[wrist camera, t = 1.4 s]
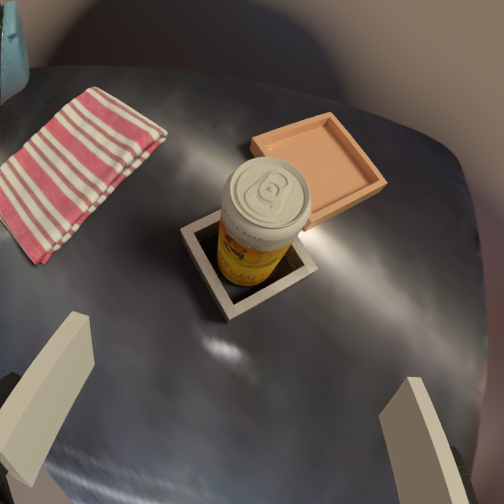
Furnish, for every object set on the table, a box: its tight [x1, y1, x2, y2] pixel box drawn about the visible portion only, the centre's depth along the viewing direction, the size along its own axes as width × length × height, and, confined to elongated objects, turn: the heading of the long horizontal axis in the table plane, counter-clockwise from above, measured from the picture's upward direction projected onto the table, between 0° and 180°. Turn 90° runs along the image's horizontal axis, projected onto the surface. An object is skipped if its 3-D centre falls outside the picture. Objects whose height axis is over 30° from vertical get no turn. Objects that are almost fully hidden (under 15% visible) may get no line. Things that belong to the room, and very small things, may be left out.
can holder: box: [180, 210, 318, 324], centre depth 33 cm, size 10×10×4 cm
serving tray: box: [250, 112, 387, 231], centre depth 38 cm, size 13×13×2 cm
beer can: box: [217, 157, 311, 286], centre depth 27 cm, size 6×6×15 cm
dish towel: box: [0, 87, 168, 265], centre depth 34 cm, size 17×23×4 cm
